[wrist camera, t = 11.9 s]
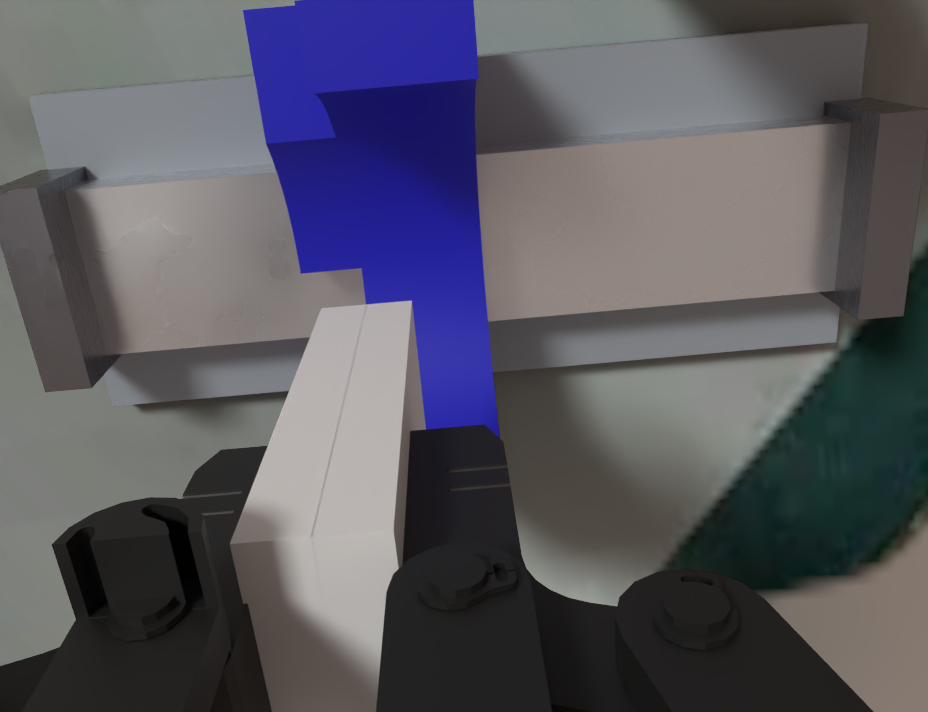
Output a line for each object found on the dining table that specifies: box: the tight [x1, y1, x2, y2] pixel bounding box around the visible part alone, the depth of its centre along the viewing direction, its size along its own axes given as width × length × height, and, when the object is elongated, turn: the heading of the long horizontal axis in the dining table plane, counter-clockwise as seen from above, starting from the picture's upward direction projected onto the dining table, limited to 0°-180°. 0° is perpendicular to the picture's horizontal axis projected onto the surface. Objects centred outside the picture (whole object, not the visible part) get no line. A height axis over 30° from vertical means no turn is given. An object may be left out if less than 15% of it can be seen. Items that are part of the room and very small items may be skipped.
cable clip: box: [243, 0, 500, 438], centre depth 19 cm, size 12×4×6 cm, turn 5°
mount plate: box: [28, 23, 869, 407], centre depth 24 cm, size 22×9×1 cm, turn 95°
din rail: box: [0, 98, 928, 392], centre depth 22 cm, size 22×5×3 cm, turn 95°
